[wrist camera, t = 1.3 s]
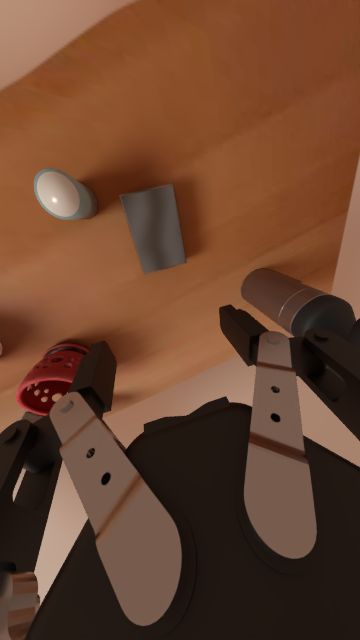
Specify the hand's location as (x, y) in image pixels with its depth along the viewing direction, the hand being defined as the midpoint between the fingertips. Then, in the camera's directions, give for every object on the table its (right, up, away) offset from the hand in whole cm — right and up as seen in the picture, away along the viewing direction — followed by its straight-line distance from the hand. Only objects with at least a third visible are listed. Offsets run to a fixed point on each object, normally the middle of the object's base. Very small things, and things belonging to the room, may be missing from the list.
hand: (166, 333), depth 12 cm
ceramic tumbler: (-16, +21, +17) cm, 31 cm away
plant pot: (-27, -9, +33) cm, 43 cm away
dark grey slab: (-4, +18, +22) cm, 29 cm away
